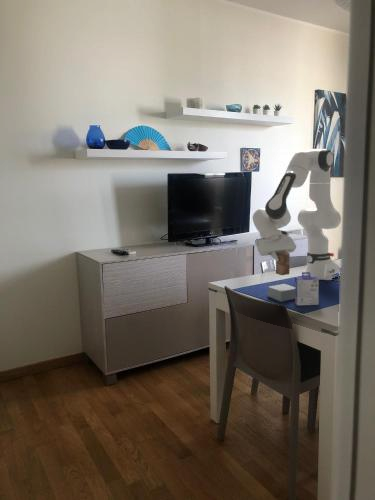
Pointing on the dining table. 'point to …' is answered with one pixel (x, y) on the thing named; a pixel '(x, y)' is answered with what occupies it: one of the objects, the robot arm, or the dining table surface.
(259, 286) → the dining table surface
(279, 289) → the white square block
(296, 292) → the ink cartridge box
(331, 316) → the dining table surface
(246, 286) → the dining table surface
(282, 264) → the brown cylinder
